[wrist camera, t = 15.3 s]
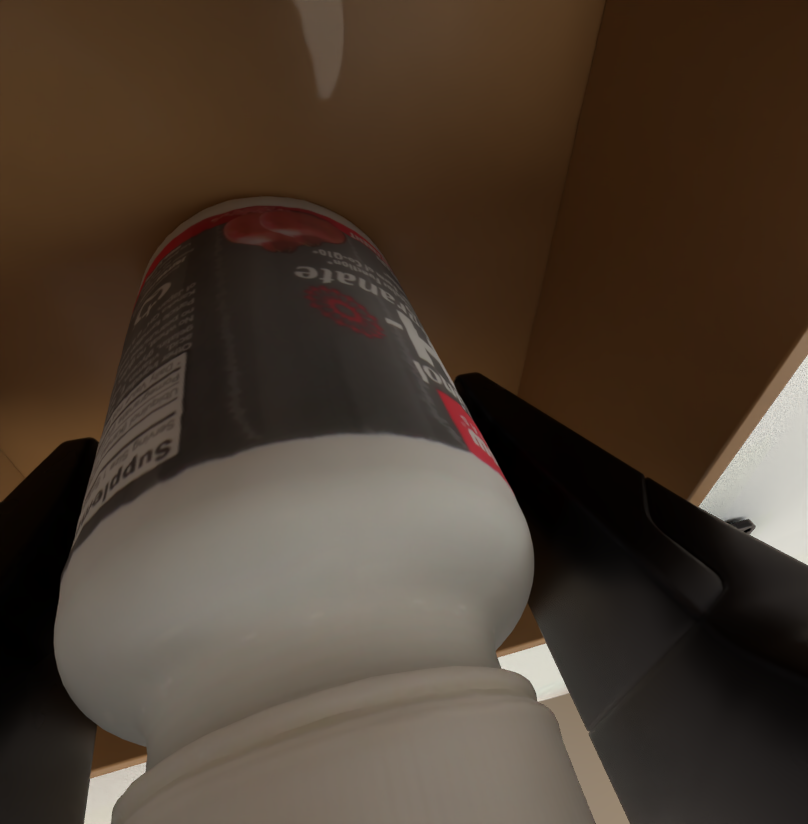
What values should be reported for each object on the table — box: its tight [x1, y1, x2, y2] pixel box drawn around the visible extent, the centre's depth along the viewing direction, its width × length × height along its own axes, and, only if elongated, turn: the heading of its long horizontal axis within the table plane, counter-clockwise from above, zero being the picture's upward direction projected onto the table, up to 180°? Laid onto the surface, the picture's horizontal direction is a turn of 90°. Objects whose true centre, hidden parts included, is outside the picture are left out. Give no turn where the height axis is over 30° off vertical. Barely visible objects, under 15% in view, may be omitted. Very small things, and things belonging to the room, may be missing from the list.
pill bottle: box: [54, 196, 596, 824], centre depth 7 cm, size 5×5×10 cm
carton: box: [0, 0, 808, 778], centre depth 9 cm, size 14×13×6 cm
